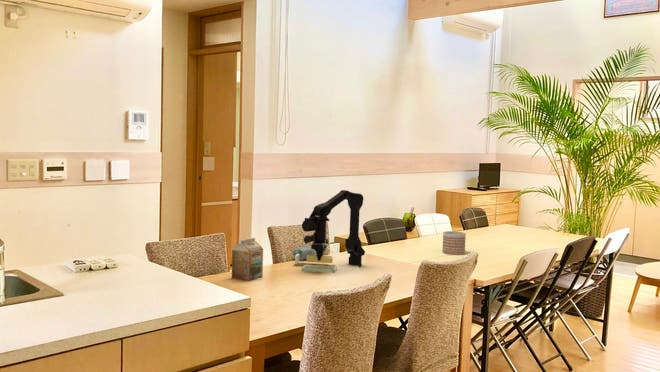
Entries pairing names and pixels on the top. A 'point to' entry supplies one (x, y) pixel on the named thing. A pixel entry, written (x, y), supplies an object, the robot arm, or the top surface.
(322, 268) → the tray
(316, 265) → the holder board
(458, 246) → the planter
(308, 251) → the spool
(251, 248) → the milk carton
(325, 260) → the yellow cylinder
